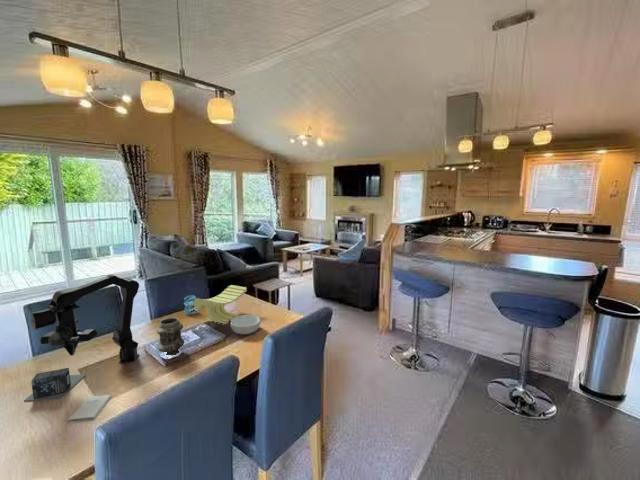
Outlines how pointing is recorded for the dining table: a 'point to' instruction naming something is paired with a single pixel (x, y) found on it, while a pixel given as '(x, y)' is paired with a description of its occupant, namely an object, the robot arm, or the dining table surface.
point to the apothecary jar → (170, 336)
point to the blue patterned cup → (189, 305)
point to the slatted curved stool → (220, 304)
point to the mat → (73, 379)
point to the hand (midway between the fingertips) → (72, 354)
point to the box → (51, 383)
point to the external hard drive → (90, 408)
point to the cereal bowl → (245, 324)
